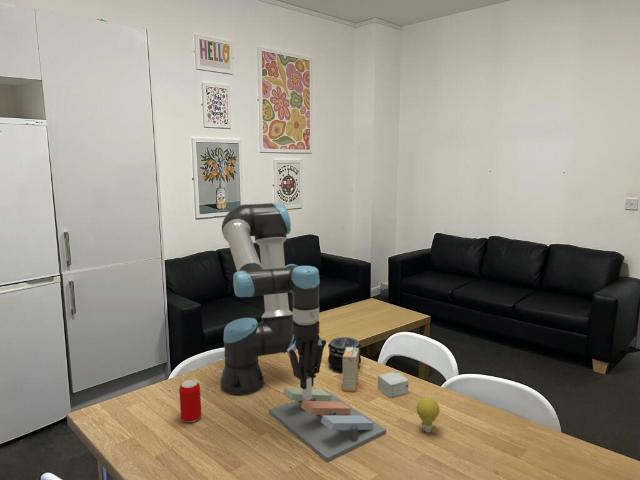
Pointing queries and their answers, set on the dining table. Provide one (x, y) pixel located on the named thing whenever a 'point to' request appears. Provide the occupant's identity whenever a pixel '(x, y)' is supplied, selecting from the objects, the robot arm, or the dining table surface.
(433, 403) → the light bulb
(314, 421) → the board
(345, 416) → the rocker blue
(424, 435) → the dining table surface
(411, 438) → the dining table surface
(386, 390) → the small box
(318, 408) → the rocker terracotta
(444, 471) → the dining table surface
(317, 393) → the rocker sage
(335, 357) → the container
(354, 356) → the supplement box
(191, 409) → the beverage can
